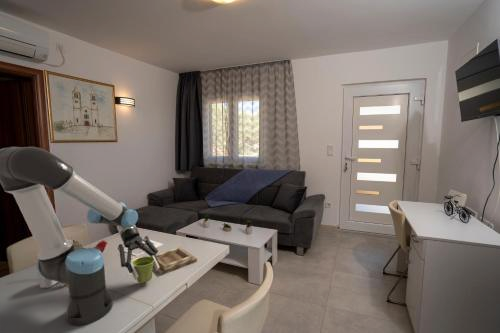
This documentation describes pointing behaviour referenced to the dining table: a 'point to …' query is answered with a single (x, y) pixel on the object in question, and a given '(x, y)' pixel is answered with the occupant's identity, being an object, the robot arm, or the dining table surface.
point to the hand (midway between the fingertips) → (147, 273)
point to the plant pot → (144, 268)
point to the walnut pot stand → (173, 260)
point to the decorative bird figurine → (101, 246)
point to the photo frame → (144, 243)
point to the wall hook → (46, 281)
